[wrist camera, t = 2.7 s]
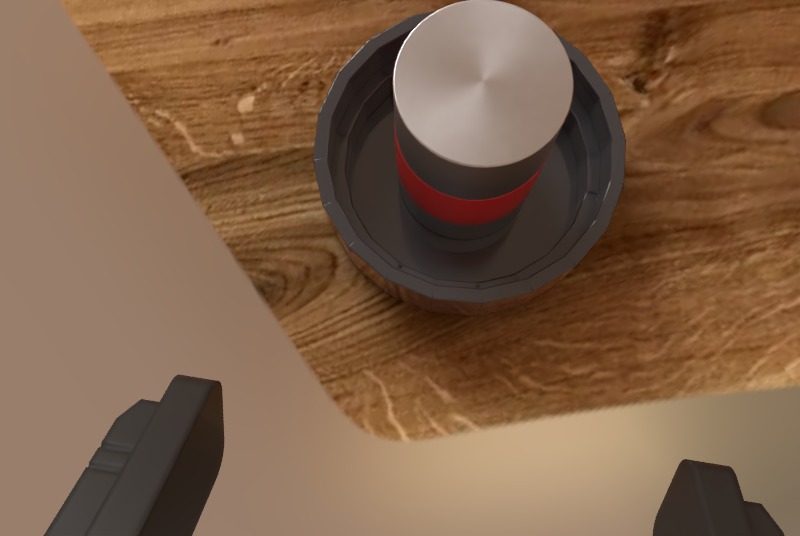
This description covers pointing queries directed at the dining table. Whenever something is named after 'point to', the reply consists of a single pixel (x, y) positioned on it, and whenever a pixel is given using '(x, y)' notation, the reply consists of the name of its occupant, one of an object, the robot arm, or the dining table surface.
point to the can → (476, 114)
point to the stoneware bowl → (452, 258)
